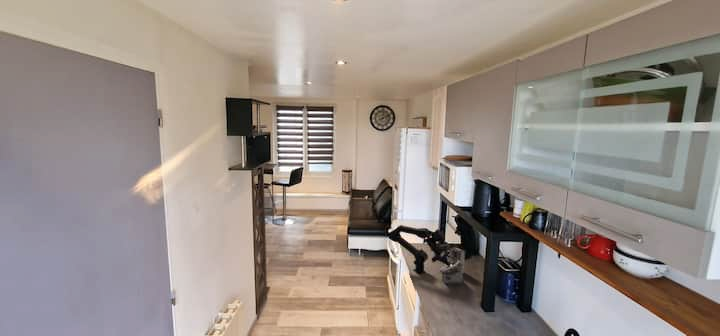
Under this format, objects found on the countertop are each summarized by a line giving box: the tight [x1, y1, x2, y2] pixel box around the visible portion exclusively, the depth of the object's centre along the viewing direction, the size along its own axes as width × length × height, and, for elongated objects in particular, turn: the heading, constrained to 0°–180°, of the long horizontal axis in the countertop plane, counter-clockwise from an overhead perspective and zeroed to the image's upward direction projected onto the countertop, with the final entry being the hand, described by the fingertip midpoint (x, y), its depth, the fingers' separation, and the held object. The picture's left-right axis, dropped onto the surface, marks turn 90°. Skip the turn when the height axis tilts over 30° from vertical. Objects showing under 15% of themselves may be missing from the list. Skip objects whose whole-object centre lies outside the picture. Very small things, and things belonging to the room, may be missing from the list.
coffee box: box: [448, 246, 466, 274], centre depth 205 cm, size 9×6×16 cm
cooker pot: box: [439, 267, 464, 288], centre depth 193 cm, size 14×17×6 cm
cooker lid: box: [440, 259, 460, 271], centre depth 192 cm, size 14×14×2 cm
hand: (448, 265), depth 193 cm, fingers closed, pressing on cooker lid
